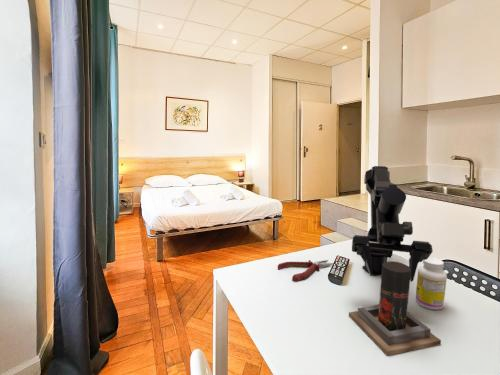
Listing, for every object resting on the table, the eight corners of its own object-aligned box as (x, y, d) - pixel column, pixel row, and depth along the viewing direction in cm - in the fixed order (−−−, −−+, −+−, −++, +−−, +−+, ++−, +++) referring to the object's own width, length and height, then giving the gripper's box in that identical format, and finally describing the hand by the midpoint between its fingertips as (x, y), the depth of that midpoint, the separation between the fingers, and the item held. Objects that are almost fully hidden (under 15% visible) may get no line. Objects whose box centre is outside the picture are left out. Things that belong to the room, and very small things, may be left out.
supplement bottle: (418, 294, 81) (423, 253, 79) (445, 303, 77) (450, 260, 75) (412, 303, 77) (416, 260, 75) (440, 314, 72) (445, 268, 70)
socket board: (394, 308, 75) (395, 298, 74) (440, 344, 61) (441, 332, 61) (348, 315, 72) (349, 305, 71) (386, 355, 58) (388, 343, 58)
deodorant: (410, 333, 63) (416, 272, 61) (384, 332, 64) (389, 272, 61) (397, 317, 69) (402, 261, 67) (373, 317, 69) (378, 261, 67)
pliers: (341, 271, 97) (341, 264, 97) (294, 284, 89) (294, 276, 88) (320, 259, 108) (320, 253, 107) (276, 269, 99) (276, 262, 99)
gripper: (354, 206, 74) (353, 261, 66) (434, 211, 68) (444, 273, 60) (352, 226, 83) (351, 277, 74) (422, 232, 77) (430, 288, 69)
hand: (391, 278), depth 69 cm, fingers open, 9 cm apart
